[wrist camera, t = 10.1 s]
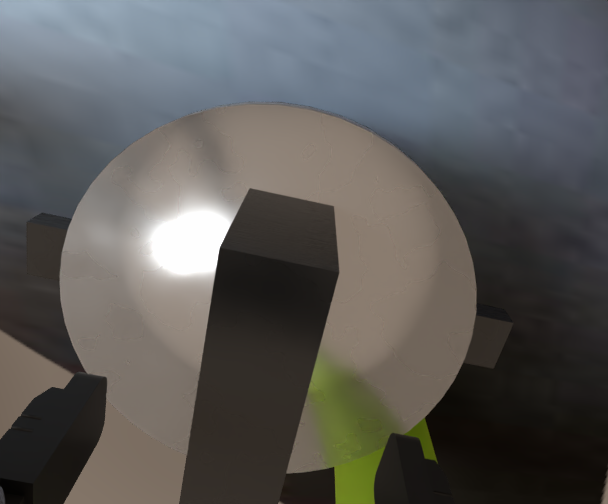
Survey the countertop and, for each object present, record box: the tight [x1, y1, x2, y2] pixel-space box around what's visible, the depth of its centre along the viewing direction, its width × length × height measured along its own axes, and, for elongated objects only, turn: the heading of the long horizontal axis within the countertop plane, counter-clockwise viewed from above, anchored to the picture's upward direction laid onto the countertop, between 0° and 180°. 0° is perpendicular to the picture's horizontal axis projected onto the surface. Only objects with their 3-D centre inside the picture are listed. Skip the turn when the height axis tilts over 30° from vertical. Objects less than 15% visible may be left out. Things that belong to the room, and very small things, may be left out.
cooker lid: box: [59, 102, 477, 504], centre depth 17 cm, size 16×16×6 cm
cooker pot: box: [27, 213, 514, 369], centre depth 25 cm, size 14×21×10 cm
